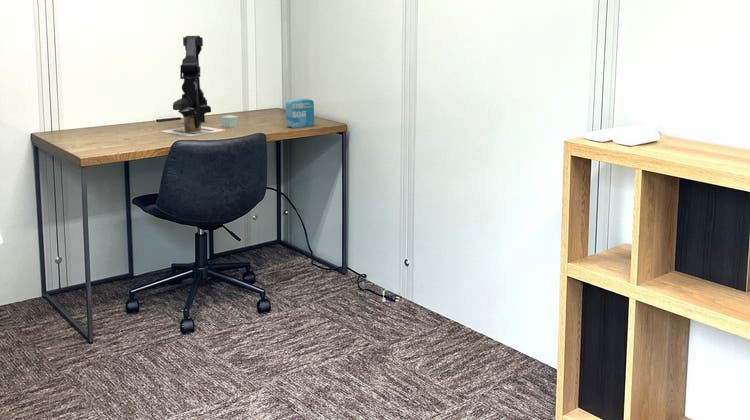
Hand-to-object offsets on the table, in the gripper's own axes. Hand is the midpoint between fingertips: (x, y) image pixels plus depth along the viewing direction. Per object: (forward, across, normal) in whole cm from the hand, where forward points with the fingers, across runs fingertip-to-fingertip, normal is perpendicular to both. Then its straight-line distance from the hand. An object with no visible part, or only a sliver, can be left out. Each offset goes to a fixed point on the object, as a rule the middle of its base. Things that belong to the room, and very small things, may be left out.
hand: (192, 127), depth 396 cm
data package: (+2, +24, +42) cm, 48 cm away
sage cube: (+2, +4, +18) cm, 19 cm away
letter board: (+2, 0, 0) cm, 2 cm away
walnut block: (+1, 0, 0) cm, 1 cm away
